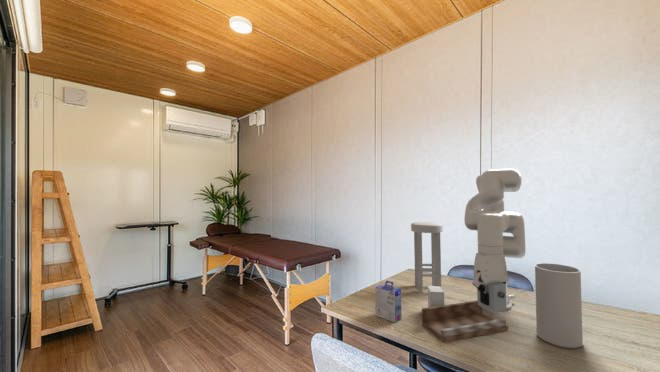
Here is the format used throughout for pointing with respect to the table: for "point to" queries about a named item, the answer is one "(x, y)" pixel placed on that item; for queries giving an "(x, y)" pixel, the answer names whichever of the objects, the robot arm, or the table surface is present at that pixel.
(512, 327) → the table surface
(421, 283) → the stool
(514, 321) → the table surface
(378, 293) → the ink cartridge box
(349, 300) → the table surface
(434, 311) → the wooden ridged tray
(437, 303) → the small box
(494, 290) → the cabinet block
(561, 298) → the cylinder vase
